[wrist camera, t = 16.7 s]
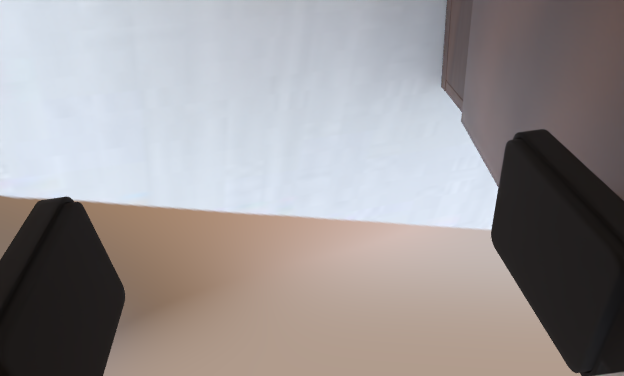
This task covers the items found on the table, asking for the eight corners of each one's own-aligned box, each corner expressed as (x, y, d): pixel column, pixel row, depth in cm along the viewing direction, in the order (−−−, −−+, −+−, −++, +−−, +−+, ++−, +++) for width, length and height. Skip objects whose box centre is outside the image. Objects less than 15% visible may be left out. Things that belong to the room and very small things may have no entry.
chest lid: (1198, -307, 4) (1102, -294, 4) (668, 433, 12) (636, 434, 12) (511, -188, 18) (490, -185, 18) (475, 119, 26) (460, 121, 26)
